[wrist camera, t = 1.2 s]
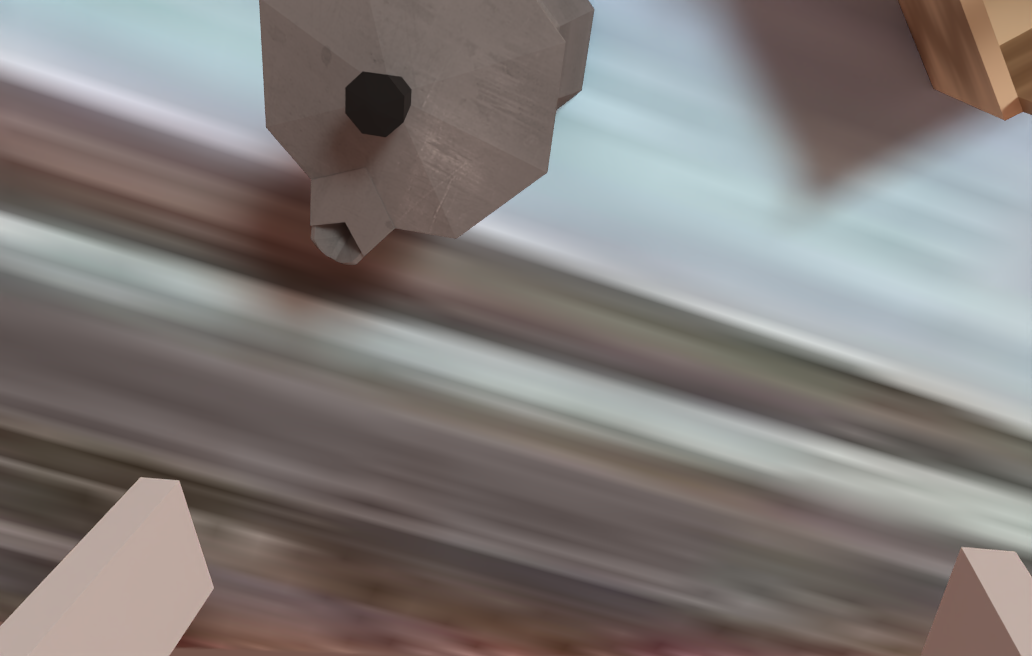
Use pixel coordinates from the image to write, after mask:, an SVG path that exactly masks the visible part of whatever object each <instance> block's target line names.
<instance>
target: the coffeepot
mask: <svg viewBox="0 0 1032 656" xmlns="http://www.w3.org/2000/svg"><path fill="white" fill-rule="evenodd" d="M259 6H260V24H261V42H262V61H263V79H264V98H265V116H266V128H267V129H268V130H269V131H270V132H271V134H272V135H273V136H274V137H275V138H276V139H277V140H278V142H279V143H280V144H281V145H282V146H283V147H284V149H285V150H286V151H287V152H288V153H289V154H290V155H291V157H292V158H293V159H294V160H295V161H296V162H297V164H298V165H299V166H300V167H301V168H302V169H303V170H304V172H305V173H306V174H307V175H308V176H309V177H310V179H311V202H310V226H312V227H311V240H312V241H313V243H314V244H315V246H316V247H317V248H318V249H319V250H320V251H321V252H323V253H324V254H325V255H326V256H328V257H330V258H332V259H334V260H336V261H337V262H339V263H342V264H345V265H356V264H357V263H358V262H359V261H360V260H361V259H362V258H363V257H365V256H366V255H367V254H368V253H369V252H370V251H371V250H372V249H373V248H374V247H375V246H376V245H377V244H378V243H379V242H380V241H382V240H383V239H384V238H385V237H386V236H387V235H388V234H389V233H390V232H391V231H393V230H394V229H395V228H396V229H402V230H408V231H414V232H420V233H426V234H431V235H437V236H443V237H449V238H455V239H456V238H458V237H459V236H461V235H462V234H463V233H465V232H466V231H467V230H469V229H470V228H472V227H473V226H474V225H476V224H477V223H478V222H480V221H481V220H483V219H484V218H485V217H487V216H488V215H489V214H491V213H492V212H494V211H495V210H496V209H498V208H499V207H500V206H502V205H503V204H505V203H506V202H507V201H509V200H510V199H511V198H513V197H514V196H516V195H517V194H518V193H520V192H521V191H522V190H524V189H525V188H527V187H528V186H529V185H531V184H532V183H533V182H535V181H536V180H538V179H539V178H540V177H542V176H543V175H544V174H546V173H547V171H548V164H549V157H550V150H551V143H552V136H553V129H554V122H555V115H556V110H557V109H558V108H559V107H560V106H562V105H563V104H564V103H566V102H567V101H568V100H570V99H571V98H572V97H573V96H575V95H576V94H577V93H579V92H580V91H581V90H582V85H583V78H584V72H585V66H586V60H587V53H588V47H589V40H590V34H591V28H592V21H593V15H594V8H593V7H592V5H591V4H590V2H589V1H588V0H259Z"/></svg>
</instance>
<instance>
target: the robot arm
mask: <svg viewBox="0 0 1032 656" xmlns="http://www.w3.org/2000/svg"><path fill="white" fill-rule="evenodd" d="M213 589H214V587H213V584H212V580H211V577H210V574H209V571H208V568H207V565H206V562H205V559H204V556H203V553H202V550H201V546H200V543H199V540H198V537H197V534H196V531H195V528H194V525H193V522H192V519H191V516H190V513H189V509H188V506H187V503H186V500H185V497H184V494H183V491H182V488H181V485H180V482H179V481H178V480H167V479H155V478H143V477H140V478H139V479H138V481H137V482H136V483H135V484H134V485H133V486H132V487H131V488H130V489H129V490H128V491H127V492H126V493H125V494H124V495H123V496H122V498H121V499H120V500H119V501H118V502H117V503H116V504H115V505H114V506H113V507H112V508H111V509H110V510H109V511H108V512H107V513H106V515H105V516H104V517H103V518H102V519H101V520H100V521H99V522H98V523H97V524H96V525H95V526H94V527H93V528H92V529H91V530H90V532H89V533H88V534H87V535H86V536H85V537H84V538H83V539H82V540H81V541H80V542H79V543H78V544H77V545H76V546H75V547H74V549H73V550H72V551H71V552H70V553H69V554H68V555H67V556H66V557H65V558H64V559H63V560H62V561H61V562H60V563H59V564H58V566H57V567H56V568H55V569H54V570H53V571H52V572H51V573H50V574H49V575H48V576H47V577H46V578H45V579H44V580H43V581H42V583H41V584H40V585H39V586H38V587H37V588H36V589H35V590H34V591H33V592H32V593H31V594H30V595H29V596H28V597H27V598H26V600H25V601H24V602H23V603H22V604H21V605H20V606H19V607H18V608H17V609H16V610H15V611H14V612H13V613H12V614H11V615H10V617H9V618H8V619H7V620H6V621H5V622H4V623H3V624H2V625H1V626H0V656H169V655H170V654H171V652H172V651H173V649H174V648H175V646H176V645H177V643H178V642H179V640H180V639H181V637H182V636H183V634H184V633H185V631H186V630H187V628H188V627H189V625H190V624H191V622H192V621H193V619H194V618H195V616H196V615H197V613H198V612H199V610H200V609H201V607H202V606H203V604H204V603H205V601H206V600H207V598H208V596H209V595H210V593H211V592H212V590H213ZM921 656H1032V577H1031V575H1030V574H1029V572H1028V571H1027V569H1026V567H1025V566H1024V564H1023V563H1022V561H1021V560H1020V558H1019V556H1018V555H1017V553H1016V552H1013V551H1001V550H990V549H978V548H966V547H961V549H960V552H959V555H958V557H957V560H956V563H955V565H954V568H953V571H952V573H951V576H950V579H949V581H948V584H947V587H946V589H945V592H944V595H943V597H942V600H941V603H940V606H939V608H938V611H937V614H936V616H935V619H934V622H933V624H932V627H931V630H930V632H929V635H928V638H927V640H926V643H925V646H924V648H923V651H922V654H921Z"/></svg>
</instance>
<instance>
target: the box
mask: <svg viewBox="0 0 1032 656" xmlns="http://www.w3.org/2000/svg"><path fill="white" fill-rule="evenodd" d="M898 2H899V5H900V7H901V9H902V12H903V14H904V17H905V19H906V22H907V24H908V27H909V29H910V32H911V34H912V37H913V39H914V42H915V44H916V47H917V49H918V51H919V54H920V56H921V59H922V61H923V64H924V66H925V69H926V71H927V74H928V76H929V79H930V81H931V84H932V86H933V89H935V90H937V91H939V92H942V93H944V94H946V95H948V96H951V97H953V98H955V99H957V100H960V101H962V102H964V103H966V104H969V105H971V106H973V107H975V108H978V109H980V110H982V111H985V112H987V113H989V114H991V115H994V116H996V117H998V118H1000V119H1003V120H1007V119H1009V118H1011V117H1013V116H1015V115H1017V114H1019V113H1021V112H1026V113H1028V114H1031V115H1032V0H898Z"/></svg>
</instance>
